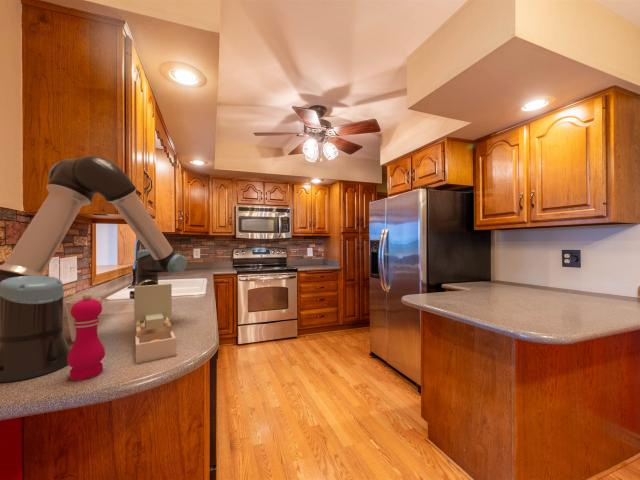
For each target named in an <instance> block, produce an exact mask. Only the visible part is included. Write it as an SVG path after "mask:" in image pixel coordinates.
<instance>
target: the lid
mask: <svg viewBox="0 0 640 480" xmlns="http://www.w3.org/2000/svg"><path fill="white" fill-rule="evenodd" d="M158 284H159V285H146V286H137V285H134V286H133V287H134V289H133V291H134V299H133V300H134V303H133V305H134V309H133V313H134V317H133V318H134V323H136V321H143V320H145V325H146V330H149V329H156V328H163V327H164V318H166V317H168V318H172V303H173V302H172V296H173V295H172V292H173V291H172V288H173V287H172V285H173V284H172V283H164V284H163V283H161V284H160V283H158Z"/></svg>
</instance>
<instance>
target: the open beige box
mask: <svg viewBox="0 0 640 480" xmlns="http://www.w3.org/2000/svg"><path fill="white" fill-rule="evenodd" d="M154 339H159V340H157V341H152V340H154ZM134 341H135V348H134V349H135V351H134V352H135V364H136V365H137V364H141V363H146V362H151V361H156V360H160V359H166V358H171V357H175V356H177V338H176V335H175V333H174V330H173V329H172V330H171V331H165V332H159V333H153V334H146V335H140V336H137V334H135V340H134Z"/></svg>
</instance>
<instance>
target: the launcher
mask: <svg viewBox="0 0 640 480" xmlns="http://www.w3.org/2000/svg"><path fill="white" fill-rule="evenodd" d="M135 330H136V335H137V336H140V335H146V334H153V333H159V332H165V331H171V330H172V331H173V325H172V323H171V322H170V319H169V317H166V318H164V327H163V328H156V329H149V330H146V325H145V320H143V321H136V322H135Z"/></svg>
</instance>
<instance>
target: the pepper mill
mask: <svg viewBox="0 0 640 480" xmlns="http://www.w3.org/2000/svg"><path fill="white" fill-rule="evenodd" d="M81 298H83V300H81V301H78V302H76V303H75V304H74V305H73V306H72V308H71V316H72V317H73V318H74V319H75V321H74V322H73V323H74V325H73V327H75V328H76V338H75V341H74V342H73V345H72V346H71V347H70V351H69V354H68V358H67V363H68V364H67V365H68V366H69V367H70V370H69V379H70V380H71V381H72V380H73V381H80V380H81V381H82V380H87V379H91V378H93V377H96V376H98V375H100V374H101V373H102V372H103V363H102V362H101V361H103V359H104V358H105V357H106V351H105V347H104V345H103V343H102V341H101V340H100V337H99V335H98V328H97V325H98V326H99V324H100V315H101V313H102V311H103V304H102V305H101V303H100V302H99V301H97V300H94V299H91V298H92V294H91V293H90V292H86V293H83V295H82V296H81ZM99 314H100V315H99ZM98 316H99V317H98Z"/></svg>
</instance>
